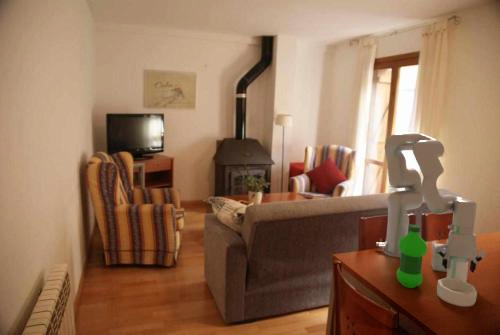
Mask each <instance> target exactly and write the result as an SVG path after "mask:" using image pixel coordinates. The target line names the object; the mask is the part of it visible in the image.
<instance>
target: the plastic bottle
mask: <svg viewBox="0 0 500 335" xmlns="http://www.w3.org/2000/svg"><path fill="white" fill-rule="evenodd" d="M419 233H421V226H420V225H418V224H412V223H411V224H410V223H409V225H408V234H407V235H405V236H403V237H402V238H400V240H399V243H398V245H399V250H400V252H401V258H400V259H399V260H400V261H399V267H398V269H397V270H396V279H397V281H398V282H399V283H400V284H401V285H402V286H403V287H404V288H408V289H414V288H416V287H418V286H420V285H421V284H422V283H423V279H424V278H423V275H422V263H423V256H425V255H426V254H427V250H428V246H427V243H426V241H425V240H424V239H423V238H422V237H421V236H420V234H419Z"/></svg>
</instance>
